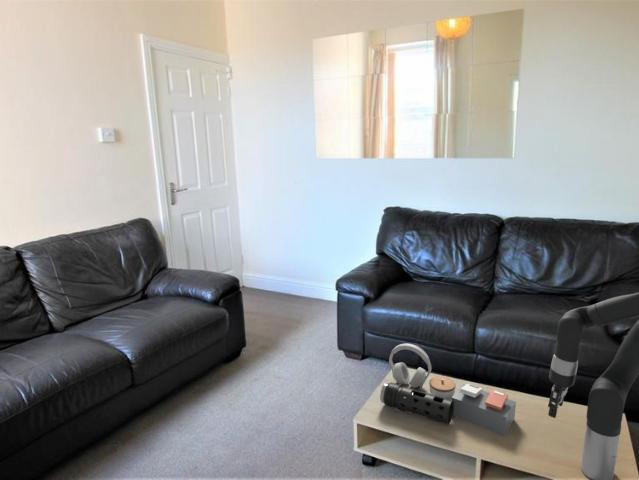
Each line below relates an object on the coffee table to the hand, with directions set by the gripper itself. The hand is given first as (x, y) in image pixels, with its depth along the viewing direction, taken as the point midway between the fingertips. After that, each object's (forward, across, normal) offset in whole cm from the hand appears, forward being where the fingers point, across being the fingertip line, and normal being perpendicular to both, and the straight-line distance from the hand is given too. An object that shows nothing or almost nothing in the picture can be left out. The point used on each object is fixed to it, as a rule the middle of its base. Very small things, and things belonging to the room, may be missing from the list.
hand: (555, 410), depth 149 cm
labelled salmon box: (+10, +6, +21) cm, 23 cm away
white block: (+10, +5, +31) cm, 33 cm away
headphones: (+22, +7, +59) cm, 63 cm away
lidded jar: (+20, +7, +43) cm, 48 cm away
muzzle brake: (+21, -9, +47) cm, 52 cm away
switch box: (+19, +6, +25) cm, 32 cm away
